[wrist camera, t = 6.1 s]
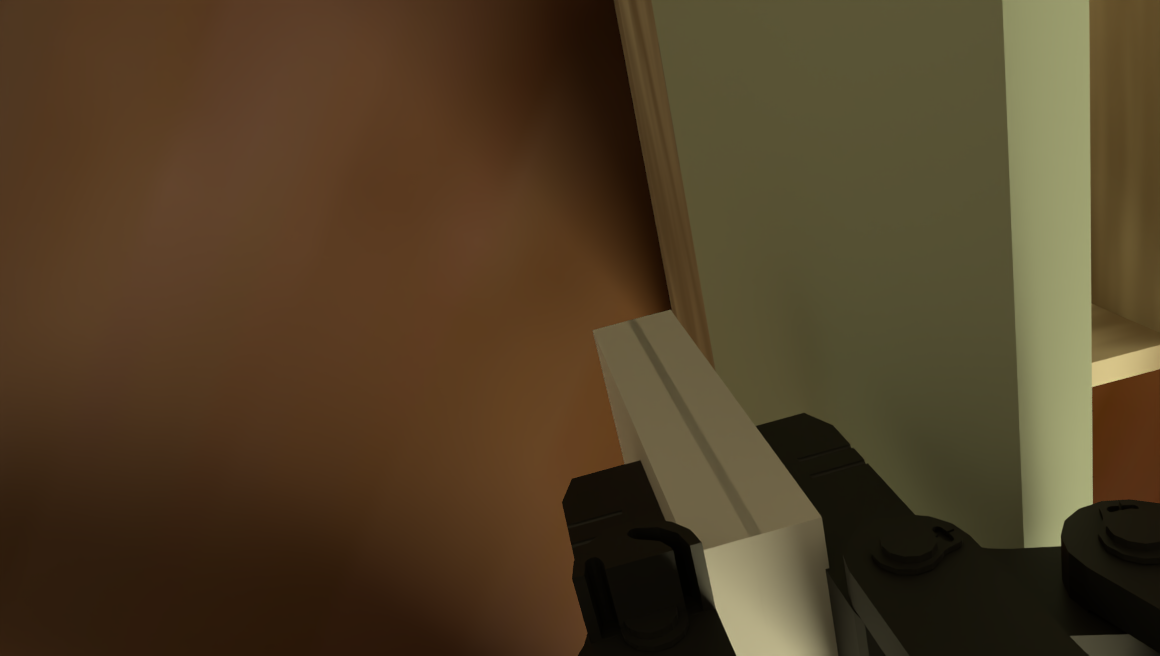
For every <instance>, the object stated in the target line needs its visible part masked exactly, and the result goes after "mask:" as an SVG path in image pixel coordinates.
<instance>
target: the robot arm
mask: <svg viewBox="0 0 1160 656" xmlns="http://www.w3.org/2000/svg"><path fill="white" fill-rule="evenodd" d="M593 334H594V338H595V342H596V346H597V351H598V355H599V359H600V363H601V367H602V371H603V375H604V380H605V384H606V388H607V392H608V396H609V400H610V405H611V409H612V413H613V417H614V421H615V425H616V429H617V434H618V438H619V442H620V446H621V450H622V454H623V459H624V463H625V464H624V465H621V466H617V467H613V468H610V469H606V470H602V471H599V472H595V473H591V474H588V475H584V476H581V477H577V478H573V479H572V480H571V483H570V485H569V487H568V490H567V492H566V494H565V497H564V499H563V501H562V504H563V509H564V513H565V518H566V522H567V527H568V531H569V536H570V541H571V545H572V550H573V554H574V559H575V561H574V566H573V575H572V579H573V583H574V587H575V590H576V594H577V597H578V601H579V604H580V608H581V611H582V615H583V618H584V622H585V626H586V629H587V633H588V634H587V637H586V641H585V644H584V646H583V648H582V650H581V651H580V653H579V654H578V656H1160V504H1159V503H1152V502H1144V501H1137V500H1115V501H1101V502H1098V503H1095V504H1092V505H1089V506H1086V507H1082V508H1079V509H1078V510H1077V511H1075V512H1074V513H1073V514H1072V515H1071V516H1069V517H1068V518H1067V519H1066V520H1065V521H1064V525H1063V528H1062V532H1061V546H1054V547H1035V548H1015V549H996V548H983V547H981V546H980V545H979V544H978V543H977V542H976V541H975V540H974V539H973V538H972V537H971V536H970V535H969V534H967V533H966V532H964V531H963V530H961V529H960V528H958V527H957V526H955V525H954V524H952V523H950V522H946V521H943V520H940V519H937V518H934V517H930V516H921V515H915V514H914V513H913V512H912V511H911V510H910V509H909V508H908V506H907V505H906V504H905V503H904V502H903V501H902V500H901V499H900V498H899V497H898V496H897V494H896V493H895V492H894V491H893V490H892V489H891V488H890V487H889V486H888V485H887V484H886V482H885V481H884V480H883V479H882V478H881V477H880V476H879V475H878V474H877V473H876V472H875V470H874V469H873V468H872V467H871V466H870V465H869V464H868V463H867V464H866V463H865V460H864V459H863V457H862V456H861V455H860V454H859V453H858V452H857V451H856V450H855V449H854V448H851V446H850V443H849V442H848V441H847V440H846V439H845V438H844V437H843V436H842V435H841V433H840V432H839V431H838V430H837V429H836V428H835V427H834V426H833V425H831V424H829V423H827V422H824V421H822V420H820V419H817V418H815V417H813V416H810V415H808V414H806V413H801V414H797V415H794V416H790V417H786V418H783V419H779V420H775V421H772V422H768V423H765V424H761V425H757V426H755V425H754V423H753V422H752V421H751V419H750V418H749V417H748V415H747V414H746V412H745V411H744V410H743V408H742V407H741V406H740V404H739V403H738V402H737V400H736V399H735V397H734V396H733V395H732V393H731V392H730V391H729V389H728V388H727V386H726V385H725V384H724V382H723V381H722V380H721V378H720V377H719V375H718V374H717V373H716V371H715V370H714V369H713V367H712V366H711V365H710V363H709V362H708V360H707V359H706V358H705V356H704V355H703V354H702V352H701V351H700V349H699V348H698V347H697V345H696V344H695V343H694V341H693V340H692V338H691V337H690V336H689V334H688V333H687V332H686V330H685V329H684V327H683V326H682V325H681V323H680V322H679V321H678V319H677V318H676V317H675V315H674V314H673V312H672V311H671V310H667V311H663V312H660V313H656V314H652V315H648V316H645V317H641V318H637V319H633V320H629V321H626V322H622V323H618V324H614V325H611V326H607V327H603V328H599V329H596V330H593Z"/></svg>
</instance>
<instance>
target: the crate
mask: <svg viewBox="0 0 1160 656" xmlns="http://www.w3.org/2000/svg"><path fill="white" fill-rule="evenodd" d="M614 5H615V10H616V15H617V21H618V26H619V31H620V37H621V42H622V47H623V53H624V58H625V63H626V69H627V74H628V79H629V84H630V90H631V95H632V100H633V106H634V111H635V116H636V122H637V127H638V132H639V138H640V143H641V148H642V154H643V159H644V164H645V170H646V175H647V180H648V186H649V191H650V196H651V202H652V207H653V212H654V218H655V223H656V228H657V234H658V239H659V244H660V250H661V255H662V260H663V266H664V271H665V276H666V282H667V287H668V292H669V298H670V303H671V308H672V312H673V314H674V315H675V317H676V318H677V319H678V321H679V322H680V323H681V325H682V326H683V327H684V329H685V330H686V332H687V333H688V334H689V336H690V337H691V338H692V340H693V341H694V343H695V344H696V345H697V347H698V348H699V349H700V351H701V352H702V354H703V355H704V356H705V358H706V359H707V360H708V362H709V363H710V365H711V366H712V367H713V369H714V370H715V367H714V361H713V355H712V349H711V342H710V336H709V330H708V325H707V319H706V313H705V307H704V301H703V296H702V290H701V284H700V278H699V273H698V267H697V261H696V255H695V250H694V244H693V238H692V232H691V226H690V221H689V215H688V209H687V203H686V198H685V192H684V186H683V180H682V175H681V169H680V165H679V159H678V154H677V148H676V142H675V136H674V130H673V125H672V119H671V113H670V107H669V102H668V96H667V90H666V84H665V79H664V73H663V67H662V61H661V56H660V50H659V44H658V43H659V42H658V36H657V30H656V25H655V19H654V13H653V7H652V2H651V0H614ZM1089 41H1090V188H1091V335H1092V387H1094V386H1097V385H1101V384H1105V383H1109V382H1112V381H1116V380H1120V379H1124V378H1127V377H1131V376H1135V375H1139V374H1142V373H1146V372H1150V371H1154V370H1157V369H1160V0H1089Z"/></svg>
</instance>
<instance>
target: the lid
mask: <svg viewBox="0 0 1160 656" xmlns="http://www.w3.org/2000/svg"><path fill="white" fill-rule="evenodd" d="M651 2H652V7H653V13H654V19H655V25H656V30H657V36H658V42H659V43H658V44H659V50H660V56H661V61H662V67H663V73H664V79H665V84H666V90H667V96H668V102H669V107H670V113H671V119H672V125H673V130H674V136H675V142H676V148H677V154H678V159H679V165H680V169H681V175H682V180H683V186H684V192H685V198H686V203H687V209H688V215H689V221H690V226H691V232H692V238H693V244H694V250H695V255H696V261H697V267H698V273H699V278H700V284H701V290H702V296H703V301H704V307H705V313H706V319H707V325H708V330H709V336H710V342H711V349H712V355H713V361H714V367H715V371H716V373H717V374H718V375H719V377H720V378H721V380H722V381H723V382H724V384H725V385H726V386H727V388H728V389H729V391H730V392H731V393H732V395H733V396H734V397H735V399H736V400H737V402H738V403H739V404H740V406H741V407H742V408H743V410H744V411H745V412H746V414H747V415H748V417H749V418H750V419H751V421H752V422H753V423H754V425H755V426H757V425H761V424H765V423H768V422H772V421H775V420H779V419H783V418H786V417H790V416H794V415H797V414H801V413H806V414H808V415H810V416H813V417H815V418H817V419H820V420H822V421H824V422H827V423H829V424H831V425H833V426H834V427H835V428H836V429H837V430H838V431H839V432H840V433H841V435H842V436H843V437H844V438H845V439H846V440H847V441H848V442H849V443H850V446H851V448H854V449H855V450H856V451H857V452H858V453H859V454H860V455H861V456H862V457H863V459H864V460H865V463H866V464H867V463H868V464H869V465H870V466H871V467H872V468H873V469H874V470H875V472H876V473H877V474H878V475H879V476H880V477H881V478H882V479H883V480H884V481H885V482H886V484H887V485H888V486H889V487H890V488H891V489H892V490H893V491H894V492H895V493H896V494H897V496H898V497H899V498H900V499H901V500H902V501H903V502H904V503H905V504H906V505H907V506H908V508H909V509H910V510H911V511H912V512H913V513H914V514H915V515H921V516H930V517H934V518H937V519H940V520H943V521H946V522H950V523H952V524H954V525H955V526H957V527H958V528H960V529H961V530H963V531H964V532H966V533H967V534H969V535H970V536H971V537H972V538H973V539H974V540H975V541H976V542H977V543H978V544H979V545H980V546H981V547H983V548H996V549H1015V548H1035V547H1054V546H1061V532H1062V528H1063V525H1064V521H1065V520H1066V519H1067V518H1068V517H1069V516H1071V515H1072V514H1073V513H1074V512H1075V511H1077V510H1078V509H1079V508H1082V507H1086V506H1089V505H1092V504H1093V481H1092V335H1091V188H1090V41H1089V0H651Z"/></svg>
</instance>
